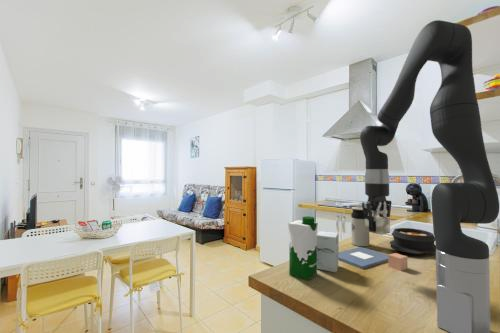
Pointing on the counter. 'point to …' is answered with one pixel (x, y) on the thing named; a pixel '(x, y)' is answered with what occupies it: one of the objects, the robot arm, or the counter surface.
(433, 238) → the casserole
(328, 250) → the supplement box
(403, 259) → the terracotta cube
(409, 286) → the counter surface
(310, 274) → the milk carton
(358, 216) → the travel mug
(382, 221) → the cream block
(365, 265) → the blue board
